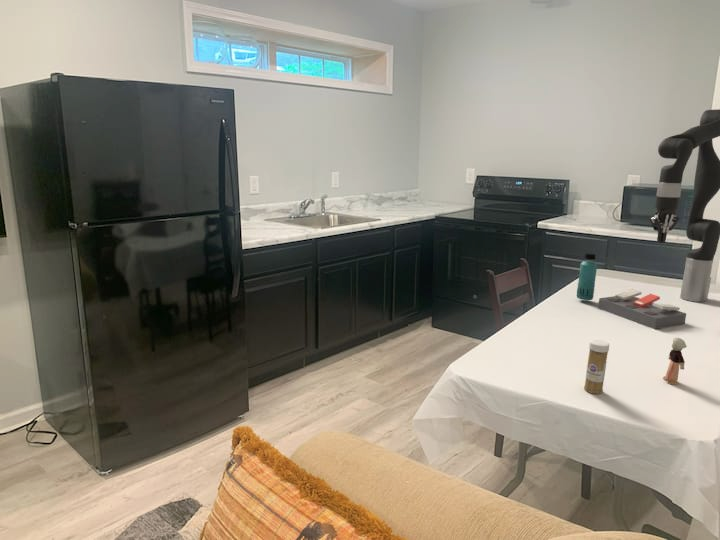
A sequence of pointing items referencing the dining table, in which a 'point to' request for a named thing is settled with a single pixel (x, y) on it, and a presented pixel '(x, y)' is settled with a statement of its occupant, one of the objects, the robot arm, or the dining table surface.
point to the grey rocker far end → (666, 306)
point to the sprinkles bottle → (596, 366)
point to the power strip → (642, 313)
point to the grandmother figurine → (675, 361)
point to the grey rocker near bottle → (628, 294)
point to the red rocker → (646, 300)
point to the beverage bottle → (587, 278)
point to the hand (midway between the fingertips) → (660, 242)
